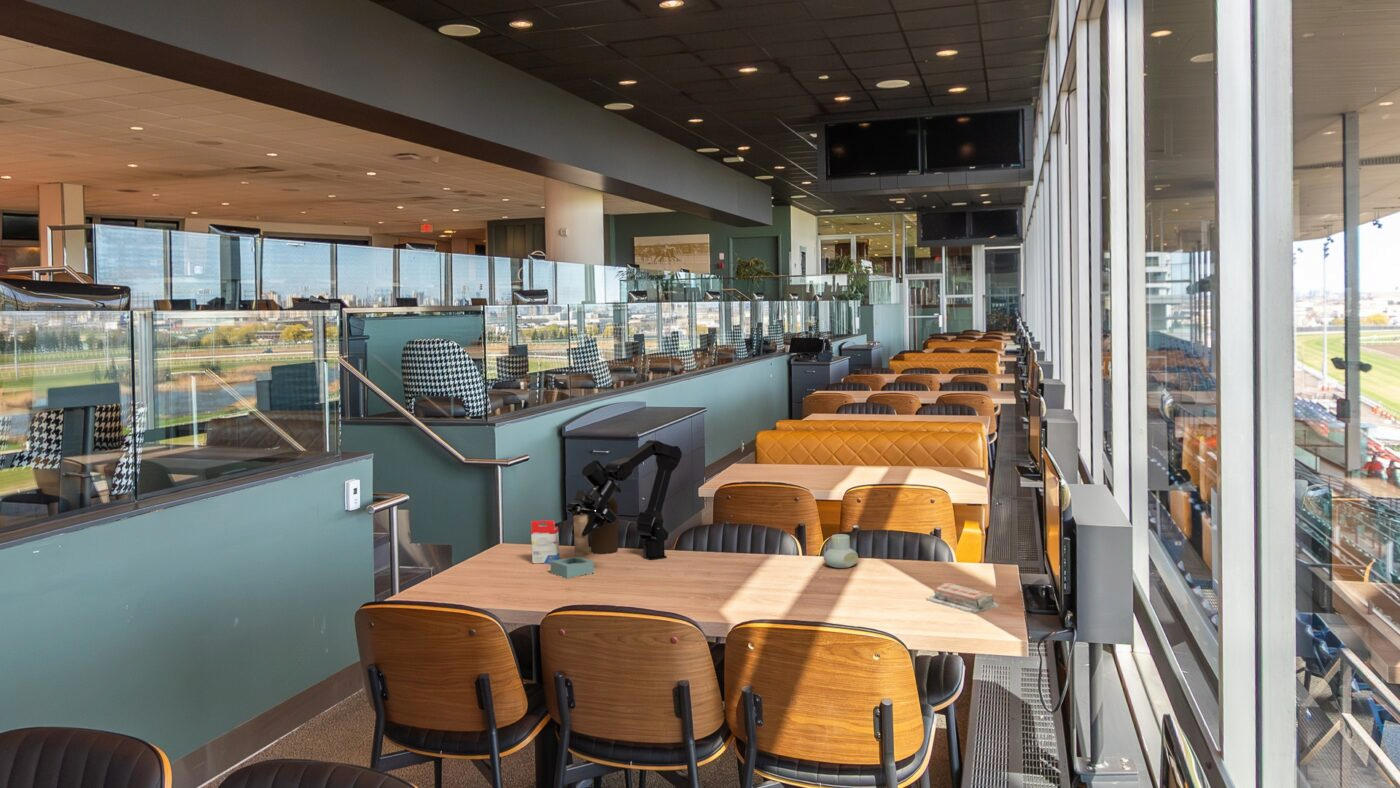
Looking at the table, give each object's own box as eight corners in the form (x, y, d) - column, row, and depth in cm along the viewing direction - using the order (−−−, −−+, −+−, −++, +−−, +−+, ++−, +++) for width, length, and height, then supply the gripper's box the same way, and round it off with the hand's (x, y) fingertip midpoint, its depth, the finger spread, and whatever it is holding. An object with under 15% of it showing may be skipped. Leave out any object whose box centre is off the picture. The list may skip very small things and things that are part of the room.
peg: (588, 552, 341) (587, 514, 340) (589, 555, 337) (587, 516, 336) (574, 553, 340) (573, 514, 339) (575, 556, 336) (573, 517, 335)
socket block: (577, 568, 350) (576, 556, 350) (593, 573, 342) (593, 561, 342) (550, 573, 344) (550, 561, 343) (567, 578, 336) (566, 566, 335)
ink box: (560, 560, 362) (558, 517, 362) (556, 563, 358) (555, 520, 357) (535, 560, 363) (533, 518, 362) (531, 564, 358) (530, 520, 357)
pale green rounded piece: (839, 571, 335) (838, 540, 335) (819, 567, 341) (819, 536, 341) (862, 565, 342) (861, 534, 342) (842, 561, 349) (841, 531, 348)
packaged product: (999, 591, 288) (973, 597, 282) (999, 609, 288) (974, 615, 283) (950, 579, 303) (925, 584, 298) (950, 596, 303) (925, 602, 298)
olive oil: (625, 551, 374) (623, 480, 373) (599, 555, 368) (597, 484, 366) (609, 546, 383) (606, 477, 381) (583, 551, 376) (581, 481, 375)
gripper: (569, 477, 346) (544, 516, 339) (608, 482, 334) (583, 522, 326) (588, 498, 352) (564, 537, 345) (627, 503, 340) (603, 543, 332)
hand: (577, 534), depth 337 cm, fingers closed on peg, 4 cm apart
